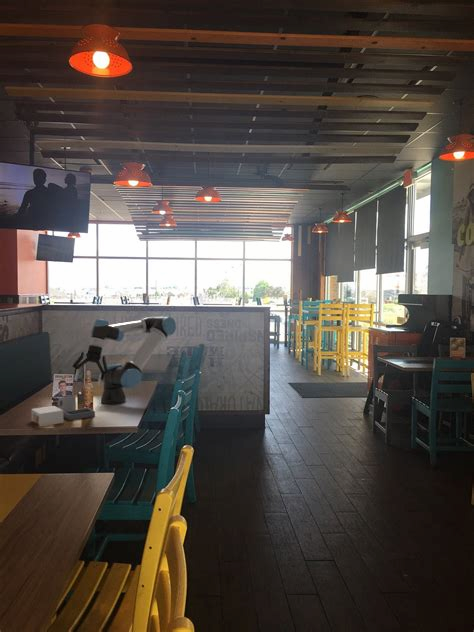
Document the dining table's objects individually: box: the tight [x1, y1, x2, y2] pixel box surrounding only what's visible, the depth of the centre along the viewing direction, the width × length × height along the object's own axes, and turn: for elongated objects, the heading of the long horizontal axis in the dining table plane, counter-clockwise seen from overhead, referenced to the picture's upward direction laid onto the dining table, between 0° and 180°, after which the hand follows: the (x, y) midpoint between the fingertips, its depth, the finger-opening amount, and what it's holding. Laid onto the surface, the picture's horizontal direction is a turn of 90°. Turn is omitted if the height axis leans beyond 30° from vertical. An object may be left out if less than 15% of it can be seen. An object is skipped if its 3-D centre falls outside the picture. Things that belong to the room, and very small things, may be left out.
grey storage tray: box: [63, 407, 96, 422], centre depth 284 cm, size 14×10×3 cm
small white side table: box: [31, 405, 64, 427], centre depth 274 cm, size 12×14×6 cm
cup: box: [57, 394, 77, 412], centre depth 296 cm, size 7×10×9 cm
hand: (87, 383), depth 292 cm, fingers open, 13 cm apart
